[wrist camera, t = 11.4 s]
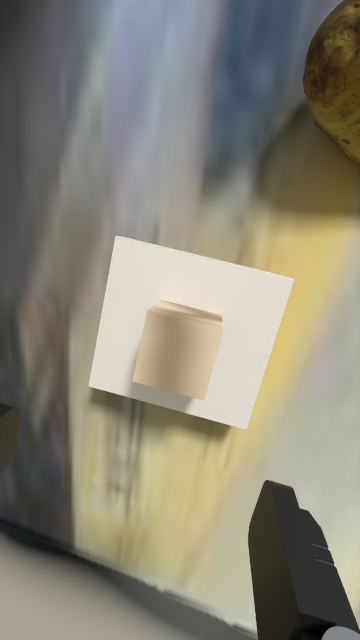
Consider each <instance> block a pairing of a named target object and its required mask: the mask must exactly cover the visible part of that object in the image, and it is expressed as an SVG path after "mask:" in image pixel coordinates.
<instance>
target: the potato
mask: <svg viewBox="0 0 360 640" xmlns="http://www.w3.org/2000/svg"><path fill="white" fill-rule="evenodd" d="M303 85H304V93H305V95H306V99H307V103H308V106H309V108H310V111H311V113H312V116H313V118H314V120H315V124H316V125H317V126H318V127H319V128H320V129H321V130H322V131H324V132H325V133H326V134H327V135H328V136H329V137H330V138H331V139H332V140H333V141H334V142H335V143H337V144H338V145H339V146H341V147H342V149H343V151H344V153H345V154H346V155H347V156H348V157H349V158H350V159H351V160H352V161H354V162H355V163H357V164H358V165H360V0H344V1H342V2H341V3H340V4H339V5H338V6H337V7H336V8H335V9H334V10H333V11H332V12H331V13H330V14H329V15H328V16H327V18H326V19H325V20H324V22H323V23H322V24H321V25H320V27H319V28H318V30H317V32H316V34H315V35H314V37H313V39H312V41H311V43H310V46H309V49H308V53H307V56H306V62H305V71H304V77H303Z"/></svg>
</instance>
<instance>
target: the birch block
mask: <svg viewBox="0 0 360 640" xmlns="http://www.w3.org/2000/svg"><path fill="white" fill-rule="evenodd" d="M222 334H223V319H222V315H220V314H216V313H212V312H208V311H204V310H200V309H196V308H192V307H188V306H184V305H180V304H176V303H172V302H168V301H164V300H160V301H159V302H157V303H156V304H155V305H154V306H152V307H151V308H150V309H149V310H147V313H146V318H145V323H144V328H143V333H142V337H141V342H140V347H139V352H138V357H137V361H136V366H135V371H134V376H133V381H132V382H136V383H140V384H143V385H147V386H151V387H155V388H158V389H162V390H166V391H170V392H174V393H177V394H181V395H185V396H189V397H192V398H196V399H200V400H205V397H206V393H207V389H208V385H209V382H210V378H211V374H212V371H213V367H214V363H215V360H216V356H217V352H218V348H219V345H220V341H221V337H222Z"/></svg>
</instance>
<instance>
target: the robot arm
mask: <svg viewBox="0 0 360 640" xmlns="http://www.w3.org/2000/svg"><path fill="white" fill-rule="evenodd" d="M19 421H20V409H19V408H18V407H15V406H12V405H8V404H5V403H1V402H0V474H1V473H2V472H3V471H4V470H5V469H6V468H7V467H8V466H9V464H10V462H11V461H12V459H13V457H14V454H15V451H16V445H17V437H18V429H19ZM248 546H249V556H250V565H251V575H252V584H253V594H254V604H255V613H256V623H257V632H258V640H360V630H359V627H358V625H357V622H356V619H355V617H354V614H353V611H352V609H351V606H350V603H349V601H348V598H347V595H346V593H345V590H344V587H343V585H342V582H341V579H340V577H339V574H338V572H337V569H336V567H334V561H333V558H332V556H331V553H330V551H329V550H328V545H327V542H326V540H325V537H324V534H323V532H322V529H321V527H320V526H319V525H318V523H317V522H316V521H315V519H314V518H313V517H312V515H311V514H310V513H309V511H307V510H303V509H300V508H299V505H298V502H297V499H296V496H295V492H294V490H293V488H292V487H290V486H287V485H283V484H280V483H276V482H273V481H269V480H266V481H265V482H264V484H263V487H262V489H261V492H260V495H259V498H258V501H257V504H256V507H255V509H254V512H253V515H252V518H251V521H250V526H249V533H248Z"/></svg>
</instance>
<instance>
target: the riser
mask: <svg viewBox="0 0 360 640" xmlns="http://www.w3.org/2000/svg"><path fill="white" fill-rule="evenodd" d="M293 282H294V279H293V278H290V277H286V276H283V275H279V274H275V273H271V272H267V271H263V270H258V269H254V268H250V267H246V266H242V265H238V264H234V263H230V262H225V261H221V260H217V259H213V258H209V257H205V256H201V255H197V254H192V253H188V252H184V251H180V250H176V249H172V248H168V247H164V246H160V245H155V244H151V243H147V242H143V241H139V240H135V239H131V238H126V237H121V236H116V237H115V243H114V248H113V254H112V259H111V265H110V271H109V276H108V282H107V287H106V293H105V298H104V304H103V309H102V315H101V320H100V326H99V331H98V337H97V342H96V348H95V354H94V359H93V365H92V370H91V376H90V381H89V387H93V388H97V389H100V390H104V391H108V392H111V393H115V394H118V395H122V396H126V397H129V398H133V399H137V400H140V401H144V402H147V403H151V404H155V405H158V406H162V407H166V408H169V409H173V410H176V411H180V412H184V413H187V414H191V415H195V416H198V417H202V418H205V419H209V420H213V421H216V422H220V423H224V424H227V425H231V426H234V427H238V428H242V429H245V430H246V429H247V426H248V423H249V420H250V416H251V413H252V410H253V407H254V404H255V401H256V398H257V395H258V391H259V388H260V385H261V382H262V379H263V376H264V373H265V370H266V366H267V363H268V360H269V357H270V354H271V351H272V348H273V345H274V341H275V338H276V335H277V332H278V329H279V326H280V323H281V320H282V316H283V313H284V310H285V307H286V304H287V301H288V298H289V294H290V291H291V288H292V285H293ZM160 300H164V301H168V302H172V303H176V304H180V305H184V306H188V307H192V308H196V309H200V310H204V311H208V312H212V313H216V314H220V315H222V319H223V334H222V337H221V341H220V345H219V348H218V352H217V356H216V360H215V363H214V367H213V371H212V374H211V378H210V382H209V385H208V389H207V393H206V397H205V400H200V399H196V398H192V397H189V396H185V395H181V394H177V393H174V392H170V391H166V390H162V389H158V388H155V387H151V386H147V385H143V384H140V383H136V382H132V381H133V376H134V371H135V366H136V361H137V357H138V352H139V347H140V342H141V337H142V333H143V328H144V323H145V318H146V313H147V310H149V309H150V308H151V307H152V306H154V305H155V304H156V303H157V302H159V301H160Z"/></svg>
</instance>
